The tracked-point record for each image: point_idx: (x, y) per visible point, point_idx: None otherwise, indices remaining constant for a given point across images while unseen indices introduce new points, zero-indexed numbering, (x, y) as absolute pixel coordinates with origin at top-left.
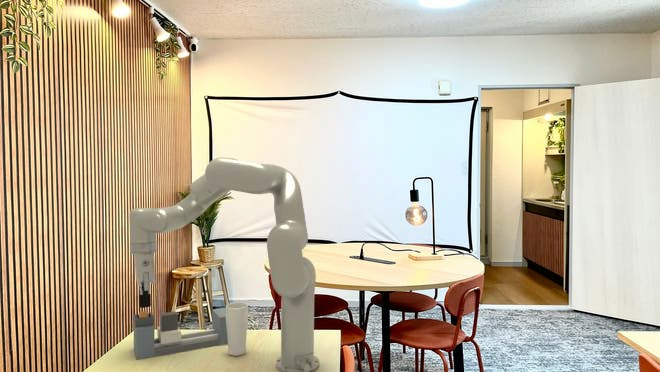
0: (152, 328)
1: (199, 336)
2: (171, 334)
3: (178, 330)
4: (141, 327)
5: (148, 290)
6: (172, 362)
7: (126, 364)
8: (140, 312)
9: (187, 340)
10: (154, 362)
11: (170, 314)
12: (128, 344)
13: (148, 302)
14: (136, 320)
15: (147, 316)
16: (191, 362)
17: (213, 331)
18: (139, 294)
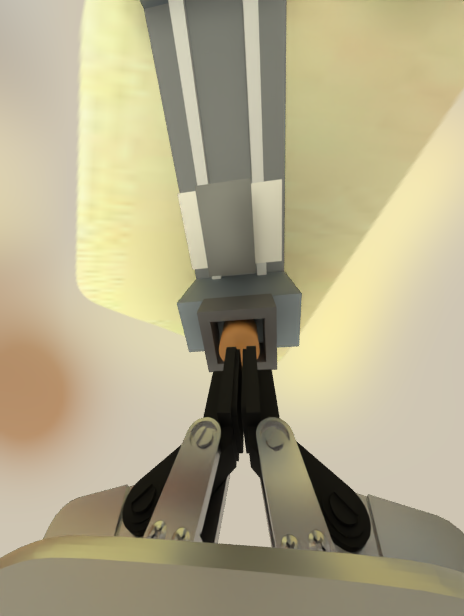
0: (300, 298)
1: (217, 99)
2: (281, 221)
3: (263, 190)
4: (279, 332)
5: (448, 522)
6: (345, 222)
7: None
8: None
9: (262, 159)
10: (317, 267)
11: (246, 225)
12: (176, 319)
13: (258, 371)
14: (276, 362)
15: (251, 329)
16: (381, 162)
17: (183, 2)
18: (237, 459)
